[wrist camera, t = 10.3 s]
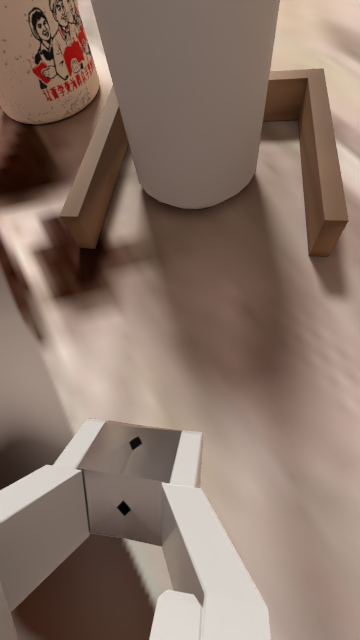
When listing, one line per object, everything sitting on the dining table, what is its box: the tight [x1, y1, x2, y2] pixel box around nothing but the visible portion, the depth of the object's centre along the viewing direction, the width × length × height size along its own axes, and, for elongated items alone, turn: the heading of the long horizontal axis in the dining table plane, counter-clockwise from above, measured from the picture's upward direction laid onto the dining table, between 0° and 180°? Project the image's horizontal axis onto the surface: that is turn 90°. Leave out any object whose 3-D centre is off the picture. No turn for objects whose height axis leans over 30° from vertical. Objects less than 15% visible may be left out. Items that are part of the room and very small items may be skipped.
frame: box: [60, 69, 348, 256], centre depth 18 cm, size 14×13×2 cm
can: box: [91, 0, 280, 209], centre depth 14 cm, size 8×8×12 cm
